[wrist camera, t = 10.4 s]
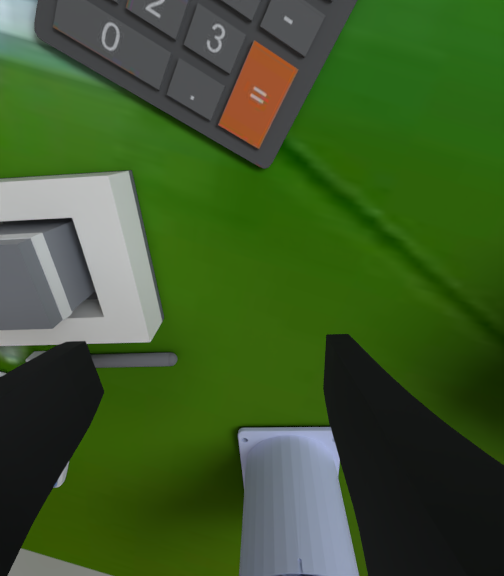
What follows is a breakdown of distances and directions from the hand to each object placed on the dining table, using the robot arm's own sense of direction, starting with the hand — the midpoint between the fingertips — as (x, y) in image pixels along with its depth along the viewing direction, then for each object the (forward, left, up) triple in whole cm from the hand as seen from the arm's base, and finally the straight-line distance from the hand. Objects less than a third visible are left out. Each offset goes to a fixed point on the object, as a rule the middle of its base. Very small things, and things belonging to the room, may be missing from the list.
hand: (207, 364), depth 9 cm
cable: (-7, +9, -9) cm, 15 cm away
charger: (+1, +10, -9) cm, 13 cm away
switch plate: (0, +12, -9) cm, 15 cm away
